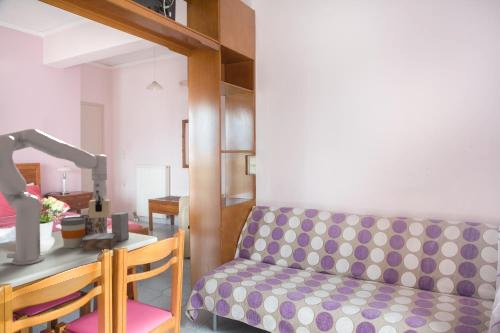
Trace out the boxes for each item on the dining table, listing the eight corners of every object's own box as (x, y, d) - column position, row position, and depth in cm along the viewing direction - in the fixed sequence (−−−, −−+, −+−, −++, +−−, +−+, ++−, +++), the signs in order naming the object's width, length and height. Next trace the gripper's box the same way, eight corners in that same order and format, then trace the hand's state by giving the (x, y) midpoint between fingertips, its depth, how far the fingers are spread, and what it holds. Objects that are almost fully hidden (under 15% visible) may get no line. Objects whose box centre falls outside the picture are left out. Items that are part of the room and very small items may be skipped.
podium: (81, 250, 174) (81, 239, 174) (88, 244, 187) (88, 233, 187) (112, 249, 177) (112, 238, 177) (116, 243, 190) (116, 232, 190)
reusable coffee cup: (91, 243, 190) (90, 217, 189) (75, 249, 177) (75, 221, 177) (71, 242, 192) (71, 216, 192) (55, 247, 180) (54, 220, 180)
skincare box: (121, 241, 193) (121, 214, 193) (110, 241, 195) (110, 214, 194) (129, 238, 202) (129, 212, 201) (119, 237, 203) (118, 211, 203)
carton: (110, 215, 185) (110, 199, 185) (108, 217, 180) (108, 200, 180) (91, 216, 183) (91, 200, 183) (89, 218, 178) (88, 201, 178)
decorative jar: (76, 241, 194) (76, 210, 193) (90, 236, 205) (90, 207, 205) (94, 242, 191) (94, 211, 190) (107, 237, 202) (107, 208, 202)
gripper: (103, 178, 173) (103, 213, 174) (110, 176, 190) (110, 208, 191) (87, 178, 172) (88, 213, 173) (95, 176, 189) (96, 208, 189)
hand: (99, 210), depth 182 cm, fingers closed on carton, 5 cm apart
